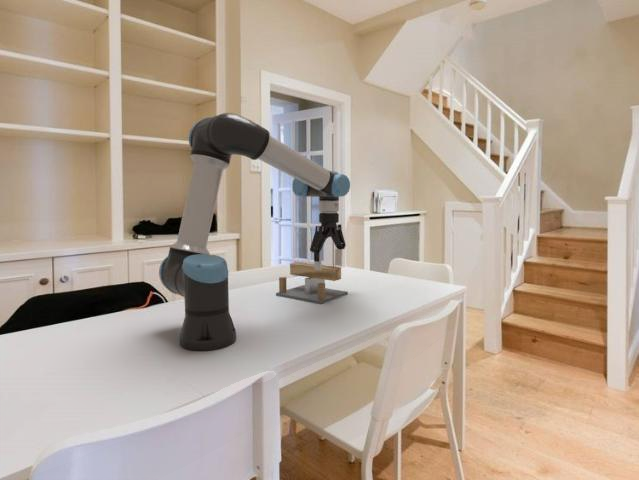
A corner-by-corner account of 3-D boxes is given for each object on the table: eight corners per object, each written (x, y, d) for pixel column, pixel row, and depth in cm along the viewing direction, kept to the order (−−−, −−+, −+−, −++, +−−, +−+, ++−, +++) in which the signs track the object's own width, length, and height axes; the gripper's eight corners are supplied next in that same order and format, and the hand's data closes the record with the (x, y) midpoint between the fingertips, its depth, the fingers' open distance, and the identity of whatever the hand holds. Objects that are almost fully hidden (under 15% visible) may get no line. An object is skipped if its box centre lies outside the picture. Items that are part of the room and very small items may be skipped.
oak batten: (334, 281, 159) (334, 269, 158) (290, 274, 172) (290, 263, 171) (341, 278, 162) (341, 267, 162) (297, 272, 175) (297, 262, 175)
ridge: (309, 296, 163) (309, 279, 162) (305, 296, 165) (304, 278, 164) (324, 291, 171) (324, 274, 170) (320, 291, 173) (320, 274, 172)
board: (320, 304, 153) (320, 285, 152) (275, 295, 166) (275, 278, 165) (347, 294, 167) (347, 276, 166) (304, 287, 180) (304, 270, 179)
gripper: (317, 213, 148) (316, 273, 150) (354, 211, 168) (353, 264, 170) (300, 213, 152) (300, 270, 154) (339, 211, 172) (338, 262, 174)
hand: (328, 267), depth 162 cm, fingers open, 13 cm apart
